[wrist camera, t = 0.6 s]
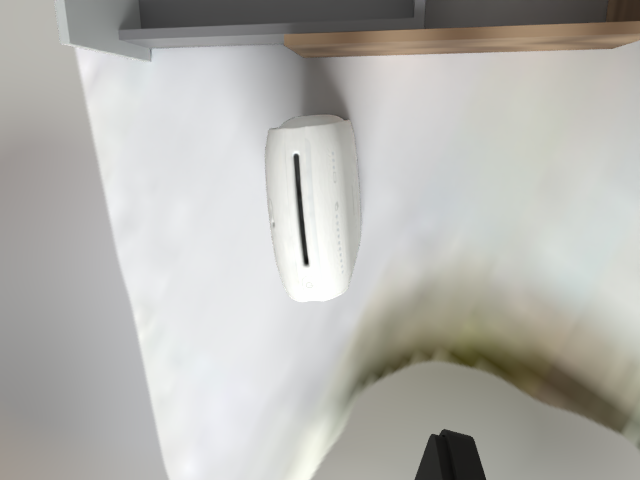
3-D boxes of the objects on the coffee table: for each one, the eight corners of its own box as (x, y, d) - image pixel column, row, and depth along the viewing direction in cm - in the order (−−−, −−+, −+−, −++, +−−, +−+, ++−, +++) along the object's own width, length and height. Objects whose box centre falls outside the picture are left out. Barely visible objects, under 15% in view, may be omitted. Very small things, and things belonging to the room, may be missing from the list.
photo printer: (365, 251, 36) (351, 316, 24) (310, 253, 37) (269, 318, 25) (356, 111, 34) (335, 109, 22) (297, 117, 34) (245, 117, 22)
